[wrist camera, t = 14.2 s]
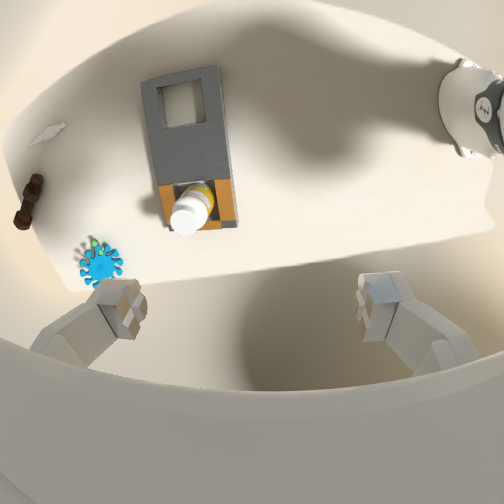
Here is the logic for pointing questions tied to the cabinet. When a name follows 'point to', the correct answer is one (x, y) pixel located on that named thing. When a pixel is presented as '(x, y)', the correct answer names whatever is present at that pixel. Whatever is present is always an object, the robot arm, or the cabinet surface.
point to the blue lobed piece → (100, 264)
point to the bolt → (28, 202)
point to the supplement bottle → (192, 209)
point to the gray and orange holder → (192, 146)
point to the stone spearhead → (48, 133)
